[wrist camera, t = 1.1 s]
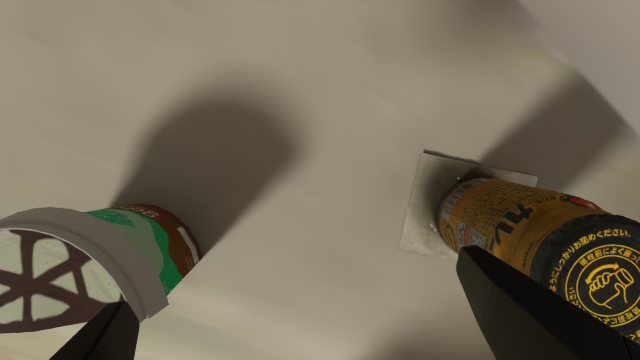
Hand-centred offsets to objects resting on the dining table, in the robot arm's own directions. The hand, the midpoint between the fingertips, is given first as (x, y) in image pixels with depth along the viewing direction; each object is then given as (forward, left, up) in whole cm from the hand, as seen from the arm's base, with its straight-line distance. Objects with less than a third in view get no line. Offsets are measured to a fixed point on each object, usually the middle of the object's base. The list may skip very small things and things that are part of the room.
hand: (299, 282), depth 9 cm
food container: (-6, +13, -16) cm, 22 cm away
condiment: (+1, -11, -16) cm, 19 cm away
